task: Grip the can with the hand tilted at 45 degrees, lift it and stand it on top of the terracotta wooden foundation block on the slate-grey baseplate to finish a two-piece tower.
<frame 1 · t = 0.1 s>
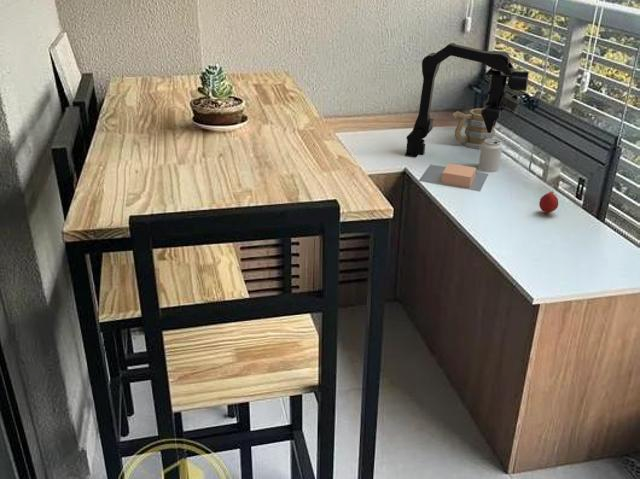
hand: (491, 129, 241), 15 cm above the table, tool pointing down, fingers open, 9 cm apart
tankard: (469, 145, 270), on the table
baseplate: (453, 179, 235), on the table
can: (487, 171, 243), on the table
onion: (546, 214, 211), on the table
foundation block: (458, 180, 231), point 1 cm above the table, touching baseplate
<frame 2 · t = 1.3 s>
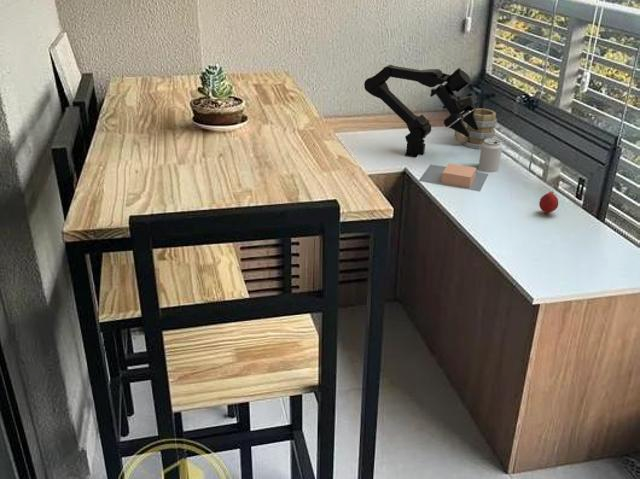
hand: (473, 133, 241), 13 cm above the table, tool tilted 45°, fingers open, 9 cm apart
nothing on the table moved.
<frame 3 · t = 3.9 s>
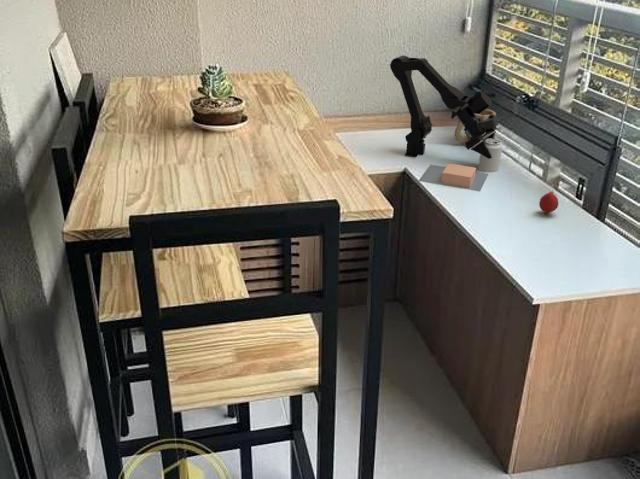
hand: (494, 155, 240), 7 cm above the table, tool tilted 45°, fingers closed on can, 7 cm apart
can: (488, 171, 243), on the table, touching gripper
everything else where it was.
when the fingers open (12 cm above the table, at t = 8.0 s): can stays where it is, resting on foundation block.
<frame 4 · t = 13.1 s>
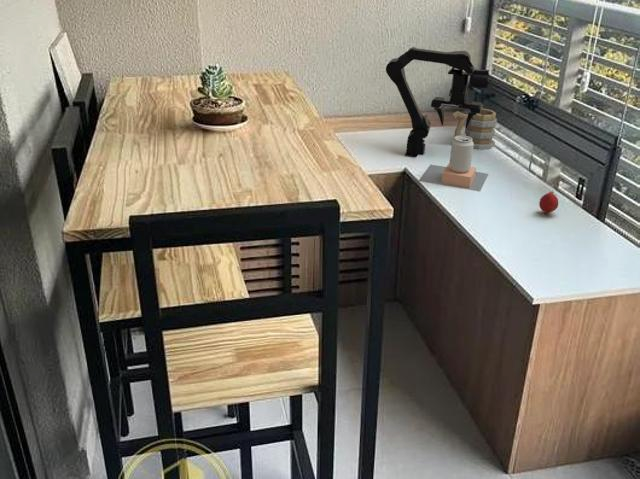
hand: (454, 126, 248), 13 cm above the table, tool pointing down, fingers open, 9 cm apart
can: (459, 170, 230), point 5 cm above the table, touching foundation block
foundation block: (458, 180, 231), point 1 cm above the table, touching baseplate, can
everything else where it was.
at the end: can 0.1 cm off-centre on the foundation block, point 3.8 cm above the foundation block's base; can tilted 0°; the gripper is holding nothing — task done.
